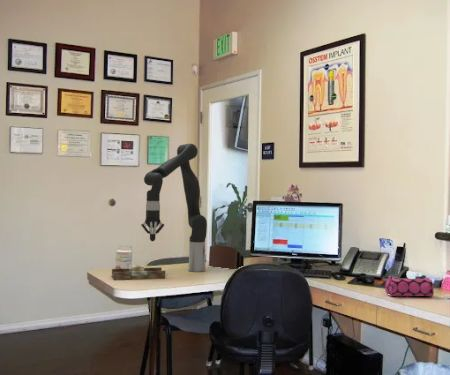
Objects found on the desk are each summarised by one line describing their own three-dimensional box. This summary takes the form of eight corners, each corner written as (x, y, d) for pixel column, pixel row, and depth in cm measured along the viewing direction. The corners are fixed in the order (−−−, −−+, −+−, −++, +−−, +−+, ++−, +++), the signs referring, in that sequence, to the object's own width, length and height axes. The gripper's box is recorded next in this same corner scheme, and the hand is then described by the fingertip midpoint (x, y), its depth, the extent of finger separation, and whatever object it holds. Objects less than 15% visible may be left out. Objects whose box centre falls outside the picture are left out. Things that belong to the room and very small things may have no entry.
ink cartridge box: (114, 271, 281) (115, 245, 281) (117, 270, 286) (118, 244, 286) (129, 272, 280) (130, 246, 280) (131, 270, 285) (132, 245, 285)
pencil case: (391, 298, 229) (392, 277, 229) (383, 294, 239) (384, 273, 239) (436, 299, 230) (436, 278, 230) (426, 294, 240) (426, 274, 240)
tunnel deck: (160, 274, 275) (161, 267, 275) (165, 278, 264) (165, 271, 264) (111, 276, 267) (112, 268, 267) (114, 280, 255) (114, 272, 255)
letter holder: (236, 270, 296) (236, 247, 296) (208, 266, 307) (209, 244, 307) (243, 268, 305) (244, 245, 305) (216, 264, 315) (217, 243, 315)
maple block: (142, 272, 269) (143, 264, 269) (144, 274, 264) (144, 266, 264) (131, 272, 268) (132, 265, 268) (132, 274, 262) (133, 266, 262)
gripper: (163, 208, 273) (163, 240, 273) (139, 209, 269) (139, 240, 269) (166, 209, 266) (165, 241, 266) (141, 209, 261) (141, 242, 262)
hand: (152, 241), depth 267 cm, fingers closed
